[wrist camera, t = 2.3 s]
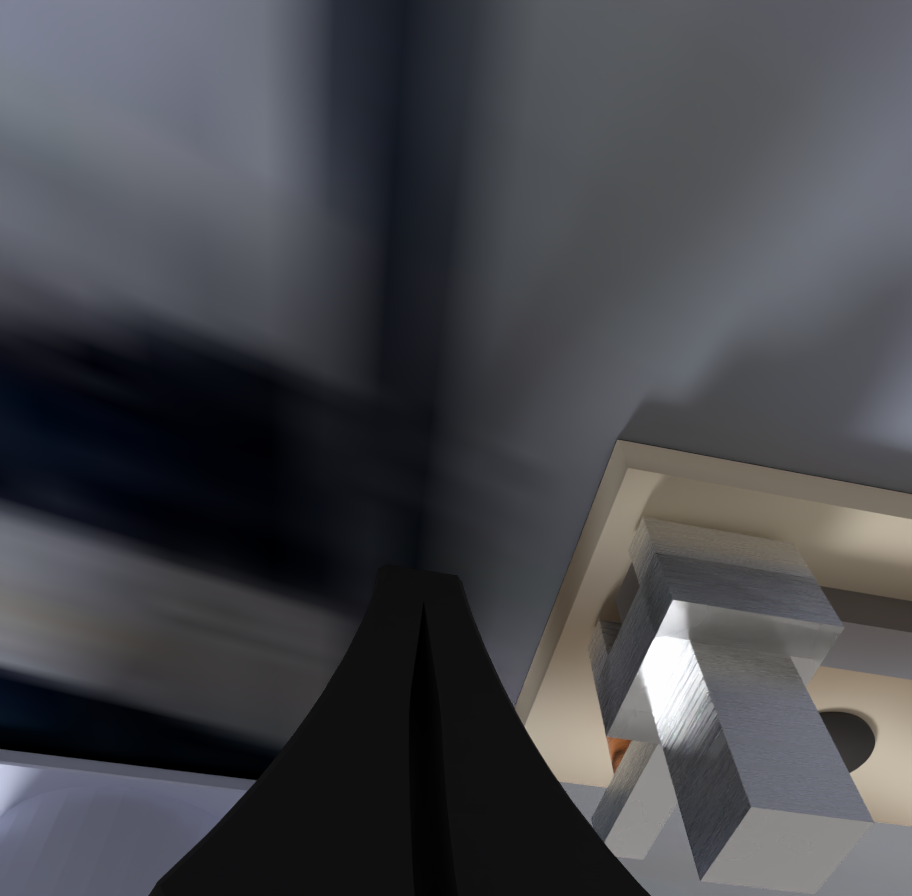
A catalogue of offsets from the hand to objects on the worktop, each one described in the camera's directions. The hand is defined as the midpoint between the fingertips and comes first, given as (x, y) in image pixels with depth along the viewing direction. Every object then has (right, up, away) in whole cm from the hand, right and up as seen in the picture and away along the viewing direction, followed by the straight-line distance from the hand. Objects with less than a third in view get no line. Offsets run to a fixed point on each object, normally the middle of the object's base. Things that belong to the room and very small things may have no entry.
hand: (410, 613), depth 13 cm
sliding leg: (+5, -2, +3) cm, 6 cm away
